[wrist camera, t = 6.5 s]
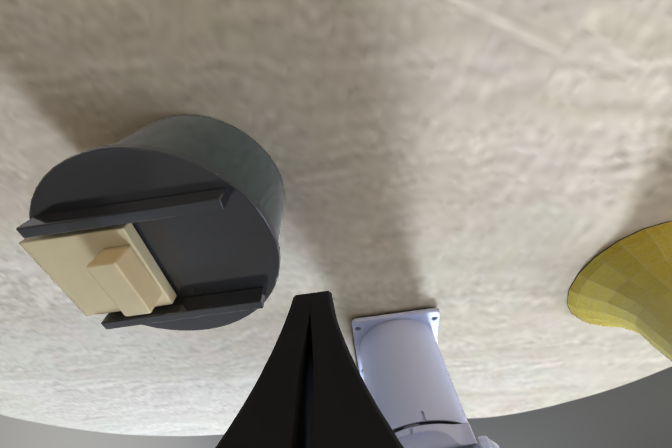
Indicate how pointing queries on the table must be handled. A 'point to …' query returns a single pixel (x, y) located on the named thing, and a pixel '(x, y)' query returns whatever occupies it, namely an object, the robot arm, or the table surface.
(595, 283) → the handbell
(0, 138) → the table surface
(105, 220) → the canister
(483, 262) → the table surface
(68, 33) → the table surface
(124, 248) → the slider
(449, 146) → the table surface
